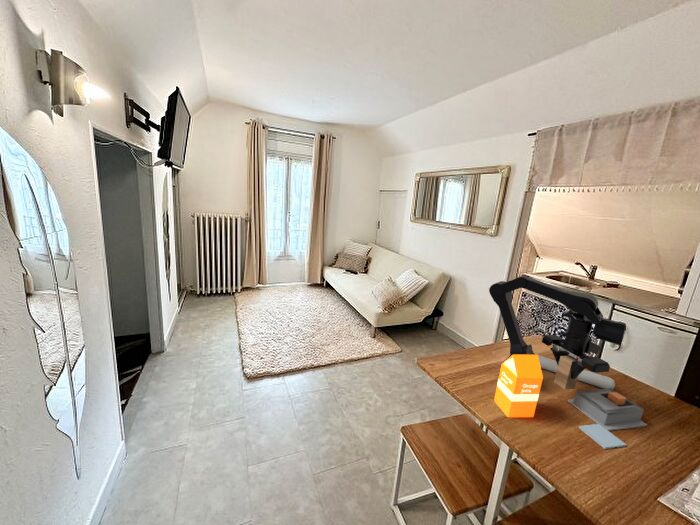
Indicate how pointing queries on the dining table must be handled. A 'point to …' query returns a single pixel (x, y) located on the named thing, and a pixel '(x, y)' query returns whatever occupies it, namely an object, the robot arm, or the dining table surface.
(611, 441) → the mat
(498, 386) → the orange juice
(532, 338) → the dining table surface
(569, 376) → the light wood cuboid
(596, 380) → the tube
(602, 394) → the grey hollow block
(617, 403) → the button
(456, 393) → the dining table surface
